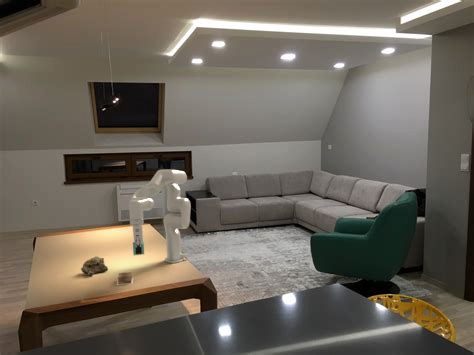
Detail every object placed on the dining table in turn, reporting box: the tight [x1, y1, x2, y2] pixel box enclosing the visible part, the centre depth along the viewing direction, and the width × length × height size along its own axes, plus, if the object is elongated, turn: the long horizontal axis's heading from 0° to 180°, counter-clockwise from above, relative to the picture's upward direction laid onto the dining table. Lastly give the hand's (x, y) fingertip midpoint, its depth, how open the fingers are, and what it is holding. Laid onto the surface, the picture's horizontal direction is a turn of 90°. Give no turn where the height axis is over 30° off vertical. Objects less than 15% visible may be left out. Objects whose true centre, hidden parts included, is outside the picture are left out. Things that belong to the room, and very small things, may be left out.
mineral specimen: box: [80, 255, 109, 275], centre depth 246 cm, size 14×13×10 cm
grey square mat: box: [116, 277, 134, 286], centre depth 228 cm, size 16×14×1 cm
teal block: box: [132, 240, 145, 256], centre depth 227 cm, size 6×6×6 cm
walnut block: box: [117, 271, 133, 285], centre depth 228 cm, size 7×7×4 cm
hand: (138, 251), depth 227 cm, fingers closed on teal block, 6 cm apart
